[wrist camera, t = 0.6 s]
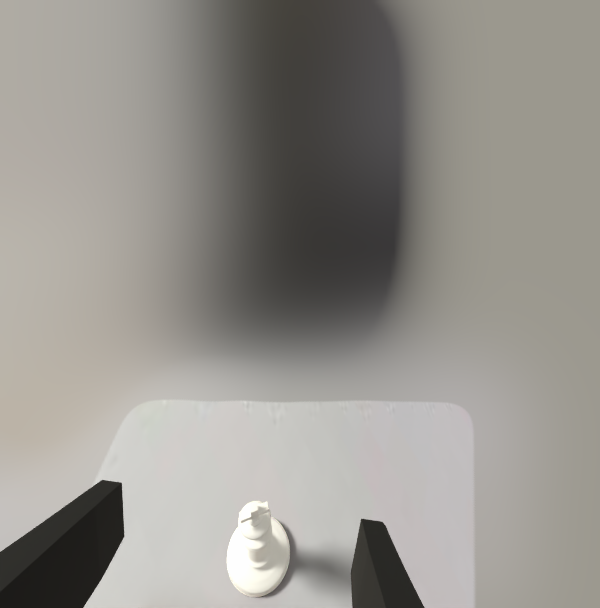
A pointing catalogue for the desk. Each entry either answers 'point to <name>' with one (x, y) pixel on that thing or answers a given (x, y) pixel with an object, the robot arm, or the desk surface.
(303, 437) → the desk surface
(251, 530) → the chess piece
